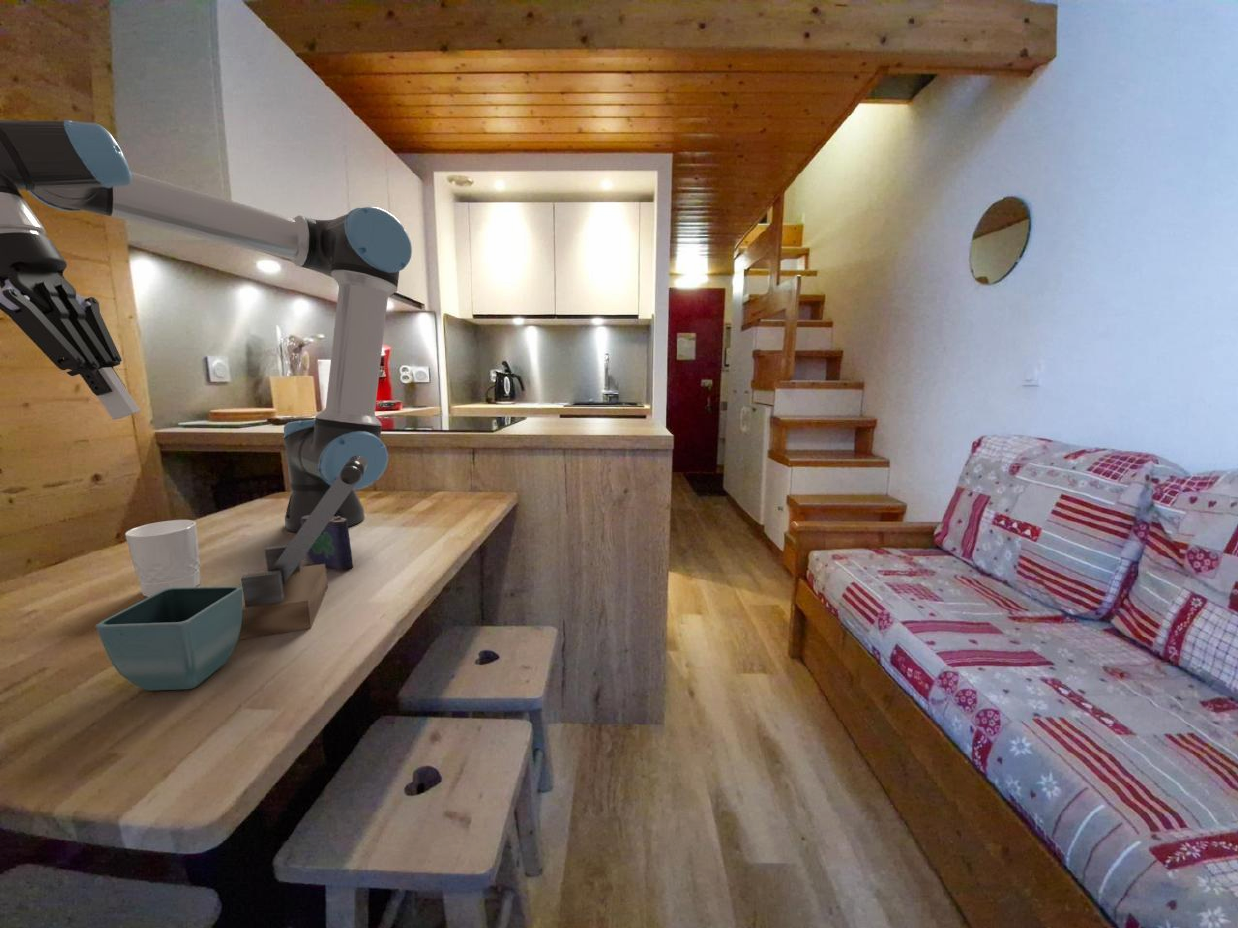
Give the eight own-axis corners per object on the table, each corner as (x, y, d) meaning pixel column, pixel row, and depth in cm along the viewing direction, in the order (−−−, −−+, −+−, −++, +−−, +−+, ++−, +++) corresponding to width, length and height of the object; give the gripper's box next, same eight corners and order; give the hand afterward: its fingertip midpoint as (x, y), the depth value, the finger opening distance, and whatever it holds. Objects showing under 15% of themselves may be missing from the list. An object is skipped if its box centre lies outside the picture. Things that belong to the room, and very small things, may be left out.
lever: (250, 596, 62) (346, 463, 64) (270, 568, 71) (354, 452, 72) (271, 604, 63) (364, 474, 65) (288, 576, 72) (371, 461, 73)
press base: (219, 643, 61) (209, 584, 59) (251, 597, 73) (244, 547, 71) (311, 628, 65) (304, 572, 63) (327, 587, 76) (322, 539, 75)
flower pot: (178, 654, 58) (166, 586, 57) (255, 652, 59) (244, 584, 57) (108, 704, 50) (91, 625, 48) (198, 701, 50) (184, 623, 49)
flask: (302, 566, 84) (295, 507, 82) (317, 560, 87) (310, 503, 85) (345, 572, 82) (339, 512, 80) (358, 566, 85) (353, 507, 83)
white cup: (165, 602, 71) (152, 538, 69) (123, 597, 73) (110, 534, 71) (218, 580, 79) (208, 521, 77) (179, 575, 80) (169, 518, 78)
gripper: (26, 259, 66) (135, 418, 73) (-87, 240, 54) (57, 433, 61) (83, 241, 67) (185, 400, 74) (-16, 218, 54) (118, 412, 61)
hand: (127, 415), depth 67 cm, fingers closed
